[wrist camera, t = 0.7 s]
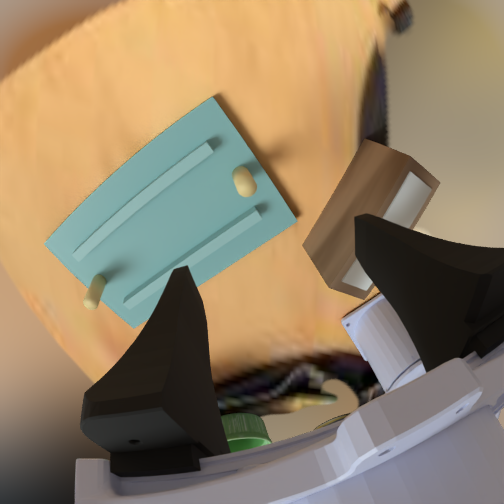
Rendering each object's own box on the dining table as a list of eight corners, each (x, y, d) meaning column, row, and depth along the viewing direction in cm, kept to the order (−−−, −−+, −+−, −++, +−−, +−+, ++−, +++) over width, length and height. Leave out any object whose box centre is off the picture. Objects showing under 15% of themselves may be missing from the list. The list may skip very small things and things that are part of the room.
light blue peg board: (295, 218, 23) (310, 239, 20) (134, 324, 26) (129, 352, 23) (212, 96, 18) (214, 96, 15) (46, 240, 20) (28, 263, 17)
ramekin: (190, 428, 37) (192, 455, 33) (232, 402, 35) (237, 432, 31) (237, 441, 41) (241, 465, 37) (279, 418, 39) (286, 443, 35)
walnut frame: (393, 159, 22) (441, 183, 17) (333, 258, 26) (365, 301, 21) (363, 137, 21) (411, 156, 16) (301, 244, 25) (329, 288, 19)
